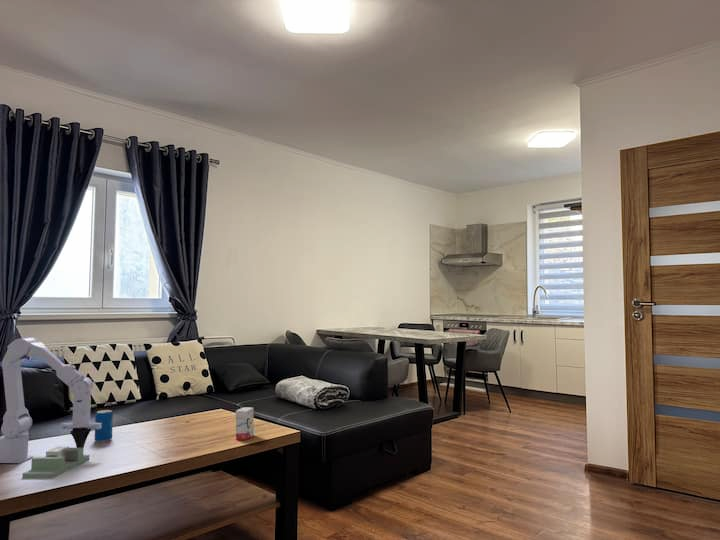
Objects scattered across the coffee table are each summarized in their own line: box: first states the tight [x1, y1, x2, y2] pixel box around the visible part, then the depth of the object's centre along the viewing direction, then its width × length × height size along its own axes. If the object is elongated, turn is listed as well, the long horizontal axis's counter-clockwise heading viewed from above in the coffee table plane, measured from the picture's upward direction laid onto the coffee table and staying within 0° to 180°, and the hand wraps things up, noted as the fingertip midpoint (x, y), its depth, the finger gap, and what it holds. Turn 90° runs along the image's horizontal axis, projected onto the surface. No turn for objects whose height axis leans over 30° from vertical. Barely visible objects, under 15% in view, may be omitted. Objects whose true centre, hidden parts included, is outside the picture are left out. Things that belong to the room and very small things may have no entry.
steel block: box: [45, 446, 70, 463], centre depth 168 cm, size 4×6×5 cm, turn 178°
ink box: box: [235, 406, 255, 441], centre depth 206 cm, size 9×5×12 cm, turn 171°
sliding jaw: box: [68, 447, 85, 460], centre depth 172 cm, size 10×4×4 cm, turn 88°
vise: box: [21, 454, 90, 479], centre depth 168 cm, size 10×20×5 cm, turn 178°
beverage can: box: [94, 409, 114, 443], centre depth 203 cm, size 6×6×12 cm
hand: (80, 448), depth 180 cm, fingers closed
